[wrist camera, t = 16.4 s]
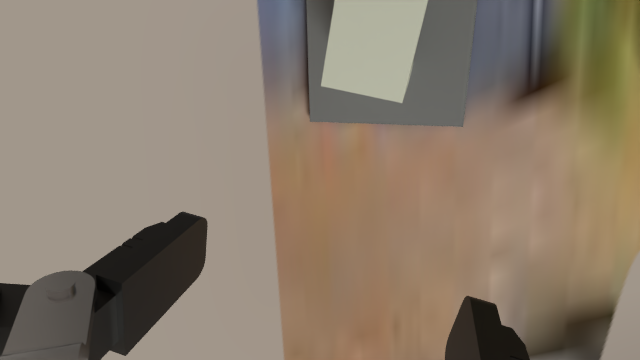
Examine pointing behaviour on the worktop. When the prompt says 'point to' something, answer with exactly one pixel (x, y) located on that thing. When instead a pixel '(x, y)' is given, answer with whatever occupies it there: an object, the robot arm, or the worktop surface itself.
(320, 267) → the worktop surface
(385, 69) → the tall sage green block
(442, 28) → the mat
